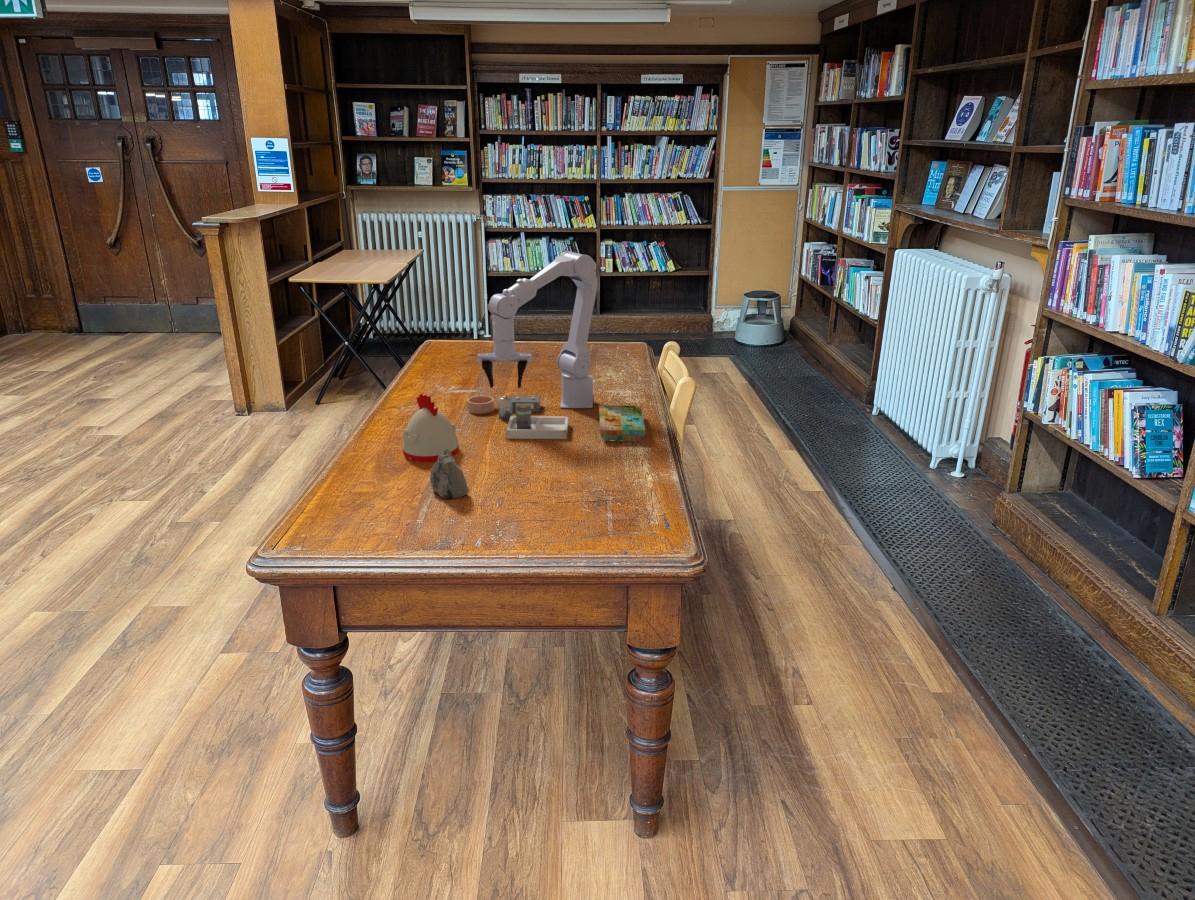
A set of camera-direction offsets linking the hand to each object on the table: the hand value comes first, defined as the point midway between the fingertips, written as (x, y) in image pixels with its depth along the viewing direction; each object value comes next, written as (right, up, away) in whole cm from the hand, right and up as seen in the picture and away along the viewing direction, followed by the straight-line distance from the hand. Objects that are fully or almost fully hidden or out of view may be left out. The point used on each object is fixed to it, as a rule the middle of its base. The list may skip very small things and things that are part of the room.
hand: (505, 386), depth 226 cm
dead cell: (0, -8, +4) cm, 9 cm away
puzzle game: (+32, -12, -4) cm, 35 cm away
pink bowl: (-8, -6, +11) cm, 15 cm away
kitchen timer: (-17, -18, -20) cm, 32 cm away
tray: (+9, -13, -6) cm, 17 cm away
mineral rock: (-8, -27, -40) cm, 49 cm away
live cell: (+6, -12, -6) cm, 15 cm away
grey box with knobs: (+5, -6, +12) cm, 14 cm away
